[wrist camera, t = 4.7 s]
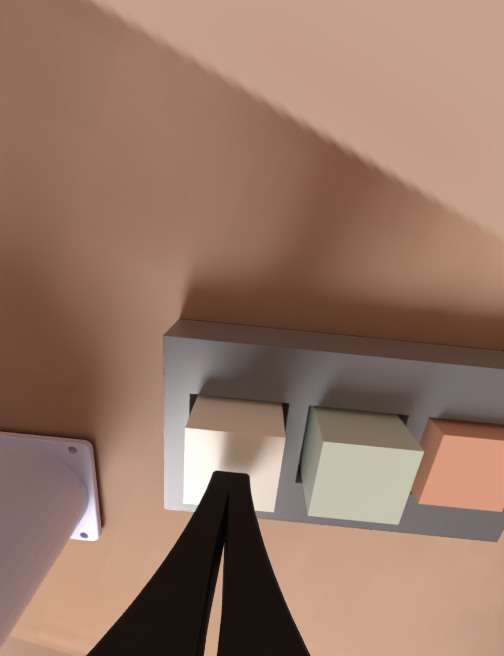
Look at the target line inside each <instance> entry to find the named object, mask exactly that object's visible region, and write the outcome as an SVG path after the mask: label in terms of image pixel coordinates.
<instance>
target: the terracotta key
mask: <svg viewBox="0 0 504 656" xmlns="http://www.w3.org/2000/svg"><path fill="white" fill-rule="evenodd" d="M420 446H421V448H422V449H423V450H424V454H423V457H422V459H421V462H420V465H419V468H418V471H417V474H416V476H415V479H414V482H413V485H412V488H411V492H412V494H413V495H414V497H415V499H416V500H417V502H418V504H426V505H436V506H446V507H456V508H466V509H476V510H486V511H496V512H502V510H503V508H504V425H503V424H493V423H483V422H473V421H463V420H453V419H443V418H433V417H429V418H428V421H427V424H426V427H425V430H424V433H423V436H422V439H421V442H420Z"/></svg>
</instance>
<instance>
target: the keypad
mask: <svg viewBox="0 0 504 656" xmlns="http://www.w3.org/2000/svg"><path fill="white" fill-rule="evenodd" d="M163 375H164V509H169V510H179V511H189V512H195V510H196V508H197V507H198V505H195V504H185V503H183V497H184V451H185V427H186V424H187V421H188V419H189V416H190V414H191V411H192V409H193V406H194V404H195V401H196V398H197V396H198V394H201V395H211V396H221V397H231V398H241V399H251V400H261V401H271V402H281V403H282V410H283V419H284V427H285V436H286V439H285V445H284V452H283V458H282V464H281V470H280V477H279V483H278V489H277V496H276V502H275V508H274V512H265V511H255V513H256V517H257V518H260V519H270V520H280V521H290V522H300V523H310V524H320V525H330V526H340V527H350V528H360V529H370V530H380V531H390V532H400V533H410V534H420V535H430V536H440V537H450V538H460V539H470V540H480V541H490V542H497V541H498V539H499V537H500V535H501V534H502V532H503V530H504V508H503V510H502V512H496V511H486V510H476V509H466V508H456V507H446V506H436V505H426V504H418V502H417V500H416V499H415V497H414V495H413V494H412V492H411V491H410V493H409V496H408V499H407V502H406V505H405V508H404V510H403V513H402V516H401V519H400V522H399V525H395V524H385V523H375V522H365V521H355V520H345V519H335V518H325V517H315V516H308V514H307V508H306V501H305V495H304V489H303V483H302V477H301V470H300V464H299V463H300V458H301V452H302V449H301V448H302V442H303V437H304V431H305V426H306V420H307V415H308V409H309V405H312V406H322V407H332V408H342V409H352V410H362V411H372V412H382V413H392V414H397V415H398V417H399V418H400V419H401V421H402V422H403V423H404V425H405V426H406V427H407V429H408V430H409V431H410V433H411V434H412V436H413V437H414V438H415V440H416V441H417V442H418V444H419V445H420V442H421V439H422V436H423V433H424V430H425V427H426V424H427V421H428V418H429V417H433V418H443V419H453V420H463V421H473V422H483V423H493V424H503V425H504V351H499V350H489V349H479V348H469V347H459V346H449V345H438V344H428V343H418V342H408V341H398V340H388V339H378V338H368V337H357V336H347V335H337V334H327V333H317V332H307V331H297V330H287V329H276V328H266V327H256V326H246V325H236V324H226V323H216V322H205V321H195V320H185V319H179V320H178V321H177V322H176V323H175V324H174V325H173V326H172V327H171V328H170V329H169V330H168V331H167V332H166V333H165V334H164V335H163Z"/></svg>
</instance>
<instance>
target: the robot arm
mask: <svg viewBox="0 0 504 656" xmlns="http://www.w3.org/2000/svg"><path fill="white" fill-rule="evenodd" d="M74 447H75V448H74ZM101 533H102V529H101V519H100V510H99V500H98V491H97V481H96V471H95V462H94V452H93V446H92V444H91V443H90V442H89V441H86V440H80V439H70V438H60V437H50V436H40V435H30V434H19V433H9V432H0V648H1V647H2V645H3V643H4V642H5V641H6V639H7V637H8V636H9V634H10V633H11V631H12V629H13V628H14V626H15V625H16V623H17V621H18V620H19V618H20V617H21V615H22V613H23V612H24V610H25V609H26V607H27V605H28V604H29V602H30V601H31V599H32V597H33V596H34V594H35V593H36V591H37V589H38V588H39V586H40V585H41V583H42V581H43V580H44V578H45V577H46V575H47V573H48V572H49V570H50V569H51V567H52V566H53V564H54V562H55V561H56V559H57V558H58V556H59V554H60V553H61V551H62V550H63V548H64V546H65V545H66V543H67V542H68V540H69V539H79V540H89V541H95V540H98V539H99V537H100V535H101ZM223 547H224V565H223V590H222V614H221V624H220V633H219V642H218V651H217V656H310V654H309V652H308V650H307V648H306V646H305V644H304V641H303V639H302V637H301V635H300V633H299V631H298V629H297V626H296V624H295V622H294V620H293V618H292V616H291V614H290V611H289V609H288V607H287V604H286V602H285V600H284V597H283V595H282V592H281V590H280V587H279V585H278V582H277V580H276V577H275V575H274V572H273V569H272V566H271V563H270V561H269V558H268V555H267V552H266V549H265V546H264V542H263V539H262V536H261V532H260V529H259V525H258V521H257V517H256V513H255V509H254V504H253V499H252V494H251V487H250V476H249V475H248V474H247V473H237V472H227V471H217V470H216V471H214V472H213V473H212V476H211V479H210V482H209V484H208V486H207V489H206V491H205V493H204V495H203V497H202V499H201V501H200V503H199V505H198V507H197V508H196V510H195V512H194V514H193V516H192V517H191V519H190V521H189V523H188V524H187V526H186V528H185V529H184V531H183V532H182V534H181V536H180V537H179V539H178V540H177V542H176V544H175V545H174V547H173V548H172V550H171V551H170V553H169V554H168V556H167V557H166V559H165V560H164V561H163V563H162V564H161V566H160V567H159V568H158V570H157V571H156V573H155V574H154V575H153V577H152V578H151V579H150V581H149V582H148V583H147V584H146V586H145V587H144V588H143V590H142V591H141V592H140V594H139V595H138V596H137V597H136V599H135V600H134V601H133V602H132V604H131V605H130V606H129V607H128V609H127V610H126V611H125V612H124V613H123V615H122V616H121V617H120V618H119V619H118V620H117V621H116V623H115V624H114V625H113V626H112V627H111V628H110V629H109V631H108V632H107V633H106V634H105V635H104V636H103V638H102V639H101V640H100V641H99V642H98V643H97V644H96V646H95V647H94V648H93V649H92V650H91V651H90V652H89V653H88V654H87V655H86V656H204V650H205V642H206V635H207V629H208V623H209V617H210V612H211V607H212V602H213V597H214V592H215V587H216V582H217V577H218V572H219V567H220V562H221V557H222V552H223Z"/></svg>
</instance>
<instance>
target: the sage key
mask: <svg viewBox="0 0 504 656" xmlns="http://www.w3.org/2000/svg"><path fill="white" fill-rule="evenodd" d="M423 454H424V450H423V449H422V448H421V446H420V445H419V444H418V442H417V441H416V440H415V438H414V437H413V436H412V434H411V433H410V431H409V430H408V429H407V427H406V426H405V425H404V423H403V422H402V421H401V419H400V418H399V417H398V415H397V414H392V413H382V412H372V411H362V410H352V409H342V408H332V407H322V406H312V405H310V409H309V414H308V420H307V425H306V430H305V436H304V441H303V447H302V452H301V458H300V463H299V464H300V470H301V477H302V483H303V489H304V495H305V501H306V508H307V514H308V516H315V517H325V518H335V519H345V520H355V521H365V522H375V523H385V524H395V525H399V522H400V519H401V516H402V513H403V510H404V508H405V505H406V502H407V499H408V496H409V493H410V491H411V488H412V485H413V482H414V479H415V476H416V474H417V471H418V468H419V465H420V462H421V459H422V457H423Z"/></svg>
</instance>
